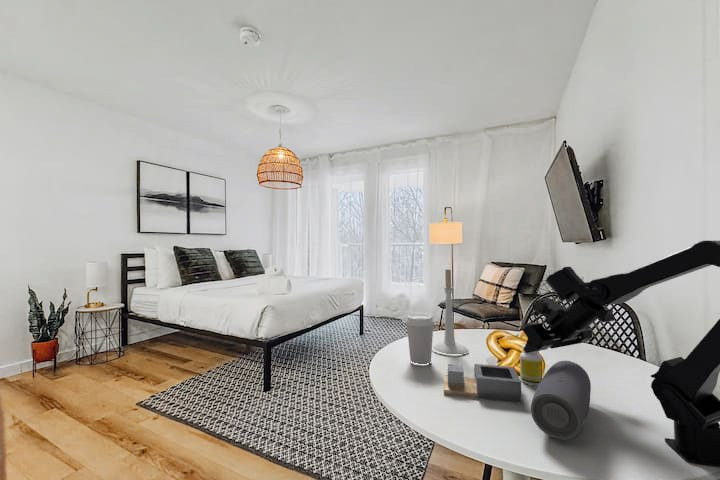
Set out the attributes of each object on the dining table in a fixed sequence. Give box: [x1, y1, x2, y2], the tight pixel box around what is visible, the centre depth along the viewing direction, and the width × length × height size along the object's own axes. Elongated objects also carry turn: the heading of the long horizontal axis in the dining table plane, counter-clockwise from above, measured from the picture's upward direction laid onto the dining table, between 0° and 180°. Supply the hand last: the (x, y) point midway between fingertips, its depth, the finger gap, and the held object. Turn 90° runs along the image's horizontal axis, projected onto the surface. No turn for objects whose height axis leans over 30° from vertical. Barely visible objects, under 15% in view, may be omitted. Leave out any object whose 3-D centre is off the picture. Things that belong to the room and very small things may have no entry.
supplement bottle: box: [519, 343, 543, 386], centre depth 88 cm, size 5×5×10 cm
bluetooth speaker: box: [530, 360, 592, 441], centre depth 69 cm, size 23×9×10 cm, turn 141°
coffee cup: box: [404, 313, 436, 364], centre depth 104 cm, size 10×10×15 cm
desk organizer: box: [443, 363, 523, 404], centre depth 83 cm, size 10×18×5 cm, turn 73°
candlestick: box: [432, 268, 469, 354], centre depth 116 cm, size 13×13×30 cm
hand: (537, 349), depth 86 cm, fingers open, 9 cm apart
